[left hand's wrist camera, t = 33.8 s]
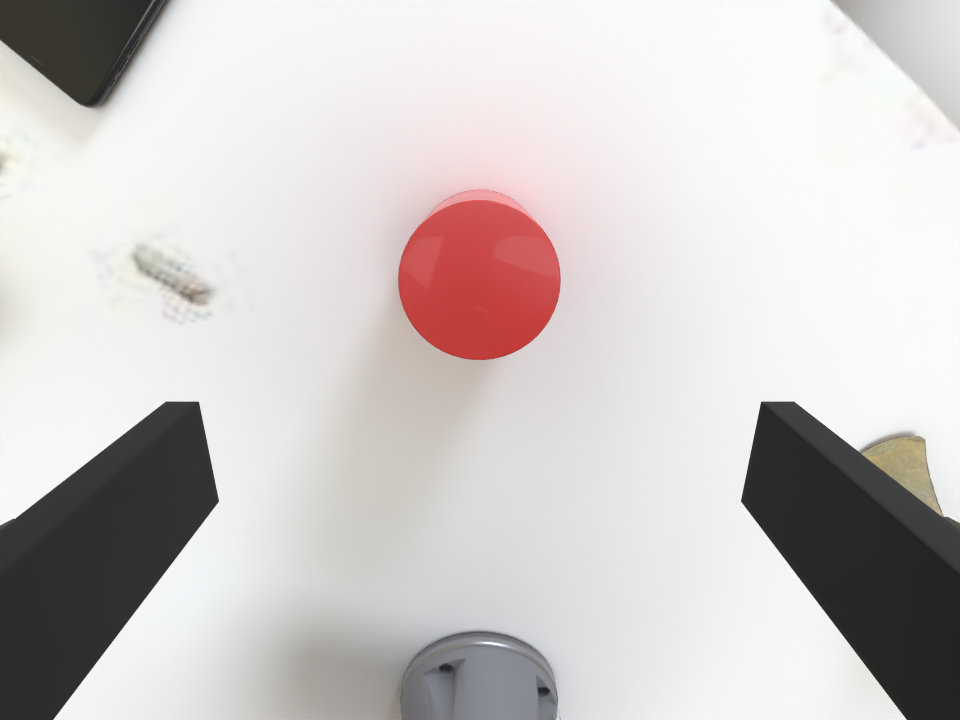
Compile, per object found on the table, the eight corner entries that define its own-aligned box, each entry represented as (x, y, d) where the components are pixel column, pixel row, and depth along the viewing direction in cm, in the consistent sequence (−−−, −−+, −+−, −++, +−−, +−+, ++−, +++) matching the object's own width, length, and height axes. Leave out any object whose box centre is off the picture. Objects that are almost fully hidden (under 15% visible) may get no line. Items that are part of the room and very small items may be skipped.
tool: (827, 453, 45) (860, 481, 41) (904, 421, 44) (947, 446, 40) (909, 643, 51) (946, 686, 46) (981, 619, 49) (1026, 661, 45)
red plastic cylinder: (396, 282, 39) (372, 318, 31) (450, 165, 37) (441, 168, 28) (505, 335, 41) (512, 385, 32) (565, 227, 38) (591, 248, 29)
